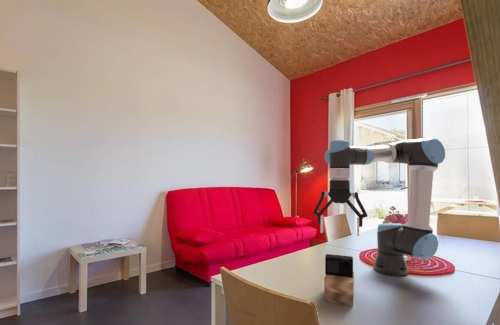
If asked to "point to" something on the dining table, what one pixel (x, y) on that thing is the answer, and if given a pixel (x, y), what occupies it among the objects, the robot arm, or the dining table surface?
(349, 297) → the tower base
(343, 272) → the digital camera
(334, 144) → the robot arm
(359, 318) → the dining table surface
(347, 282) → the tower top
